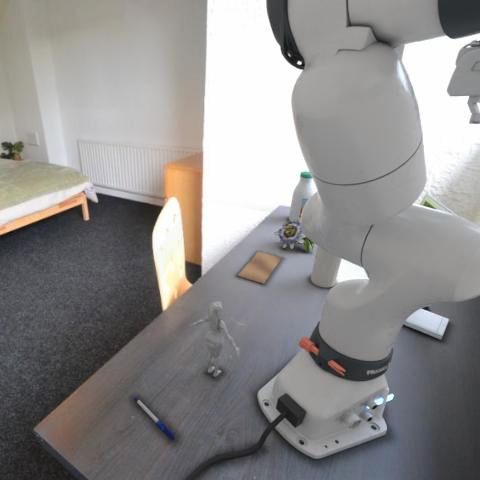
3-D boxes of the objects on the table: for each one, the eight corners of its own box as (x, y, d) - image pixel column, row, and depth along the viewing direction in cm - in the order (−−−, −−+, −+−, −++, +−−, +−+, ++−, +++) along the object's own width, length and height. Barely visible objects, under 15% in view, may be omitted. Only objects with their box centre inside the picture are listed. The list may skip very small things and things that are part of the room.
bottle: (324, 290, 94) (338, 232, 86) (306, 279, 99) (317, 223, 91) (339, 283, 96) (354, 227, 88) (320, 273, 101) (333, 218, 93)
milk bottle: (290, 223, 134) (298, 175, 125) (287, 216, 141) (294, 169, 132) (310, 224, 133) (320, 175, 124) (306, 217, 140) (315, 170, 131)
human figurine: (242, 385, 66) (251, 313, 58) (231, 397, 63) (239, 324, 55) (195, 353, 73) (198, 286, 65) (184, 363, 71) (185, 294, 63)
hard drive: (380, 310, 83) (443, 335, 75) (390, 296, 88) (449, 317, 80) (379, 315, 84) (440, 340, 76) (388, 301, 89) (447, 323, 81)
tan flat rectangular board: (263, 284, 97) (263, 283, 97) (237, 276, 101) (237, 275, 101) (281, 258, 110) (281, 257, 110) (258, 252, 114) (258, 251, 114)
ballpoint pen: (176, 437, 57) (176, 434, 56) (172, 441, 56) (172, 437, 56) (136, 399, 64) (136, 395, 63) (133, 401, 63) (132, 398, 63)
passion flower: (282, 261, 119) (266, 232, 118) (300, 247, 124) (284, 219, 123) (308, 256, 109) (291, 224, 108) (326, 241, 114) (309, 210, 113)
